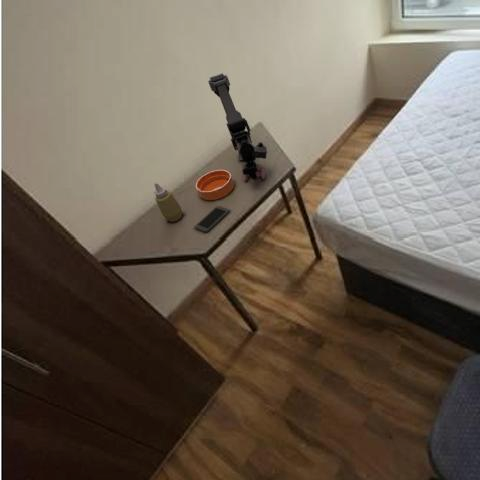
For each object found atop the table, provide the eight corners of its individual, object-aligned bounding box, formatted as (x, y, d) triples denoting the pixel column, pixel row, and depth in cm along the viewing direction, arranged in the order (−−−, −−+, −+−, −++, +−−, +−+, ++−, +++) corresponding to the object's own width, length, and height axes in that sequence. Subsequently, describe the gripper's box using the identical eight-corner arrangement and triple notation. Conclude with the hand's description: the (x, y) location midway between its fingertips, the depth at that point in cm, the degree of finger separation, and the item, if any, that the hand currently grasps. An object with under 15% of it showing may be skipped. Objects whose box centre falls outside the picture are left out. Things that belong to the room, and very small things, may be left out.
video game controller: (267, 177, 180) (265, 162, 178) (264, 179, 176) (261, 163, 174) (247, 180, 182) (244, 164, 180) (243, 181, 178) (240, 166, 176)
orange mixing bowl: (201, 183, 185) (197, 175, 181) (234, 175, 184) (230, 166, 181) (199, 204, 173) (194, 195, 170) (234, 195, 173) (230, 186, 169)
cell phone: (194, 228, 161) (193, 226, 161) (217, 207, 169) (217, 205, 168) (206, 233, 158) (206, 231, 157) (230, 211, 165) (229, 209, 165)
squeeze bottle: (168, 226, 166) (147, 192, 153) (164, 216, 171) (144, 183, 159) (186, 218, 168) (167, 184, 155) (182, 208, 173) (163, 175, 161)
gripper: (263, 152, 161) (273, 182, 172) (261, 130, 175) (271, 160, 186) (237, 158, 162) (249, 189, 172) (237, 136, 175) (248, 166, 186)
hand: (255, 175), depth 179 cm, fingers closed on video game controller, 6 cm apart
